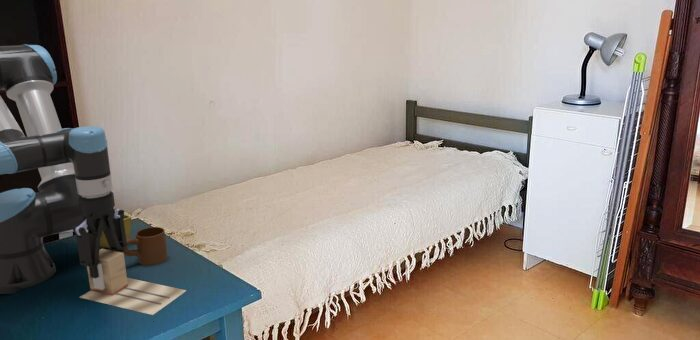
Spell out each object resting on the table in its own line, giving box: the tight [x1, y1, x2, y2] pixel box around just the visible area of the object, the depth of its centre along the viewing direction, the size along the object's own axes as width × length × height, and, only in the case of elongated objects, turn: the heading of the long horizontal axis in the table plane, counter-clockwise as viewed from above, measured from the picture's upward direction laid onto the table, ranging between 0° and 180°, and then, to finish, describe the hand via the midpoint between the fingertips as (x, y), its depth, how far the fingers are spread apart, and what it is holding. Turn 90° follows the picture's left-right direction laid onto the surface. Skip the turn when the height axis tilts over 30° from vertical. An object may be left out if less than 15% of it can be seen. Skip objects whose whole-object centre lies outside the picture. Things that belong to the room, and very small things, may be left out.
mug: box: [123, 226, 169, 267], centre depth 147 cm, size 12×8×9 cm, turn 134°
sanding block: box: [86, 248, 128, 295], centre depth 133 cm, size 7×5×9 cm
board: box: [79, 277, 187, 316], centre depth 132 cm, size 22×12×1 cm, turn 69°
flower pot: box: [94, 213, 132, 249], centre depth 160 cm, size 9×9×9 cm
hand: (108, 282), depth 134 cm, fingers closed on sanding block, 5 cm apart
